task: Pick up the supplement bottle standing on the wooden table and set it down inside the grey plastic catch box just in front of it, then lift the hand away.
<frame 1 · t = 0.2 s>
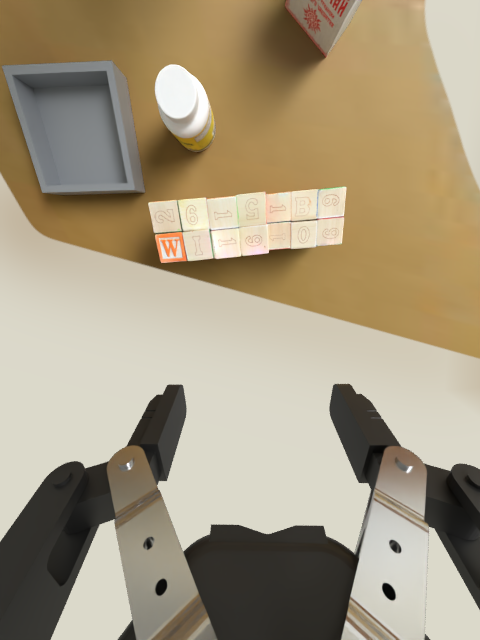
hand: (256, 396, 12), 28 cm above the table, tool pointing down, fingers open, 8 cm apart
supplement bottle: (196, 129, 31), on the table
herbal tea box: (317, 16, 27), on the table
stack of blocks: (250, 223, 36), on the table
catch box: (91, 141, 32), on the table
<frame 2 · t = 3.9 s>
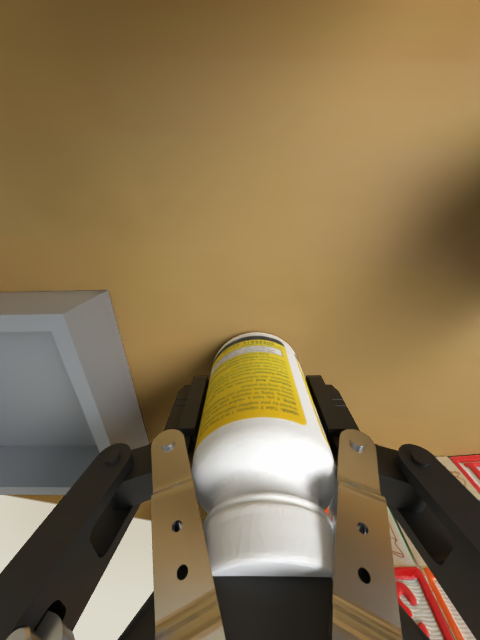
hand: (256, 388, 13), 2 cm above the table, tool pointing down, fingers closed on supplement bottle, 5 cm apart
supplement bottle: (255, 365, 15), on the table, touching gripper
stack of blocks: (344, 481, 20), on the table
catch box: (40, 381, 16), on the table
when the fingers open (4 cm above the table, at t = 9.6 s): supplement bottle drops 1 cm, resting on catch box.
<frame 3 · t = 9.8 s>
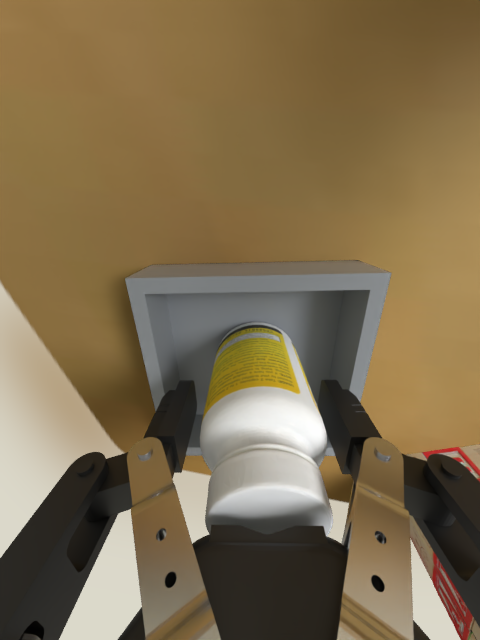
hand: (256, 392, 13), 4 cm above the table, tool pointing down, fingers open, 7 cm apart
supplement bottle: (255, 354, 16), resting on catch box
catch box: (253, 350, 17), on the table
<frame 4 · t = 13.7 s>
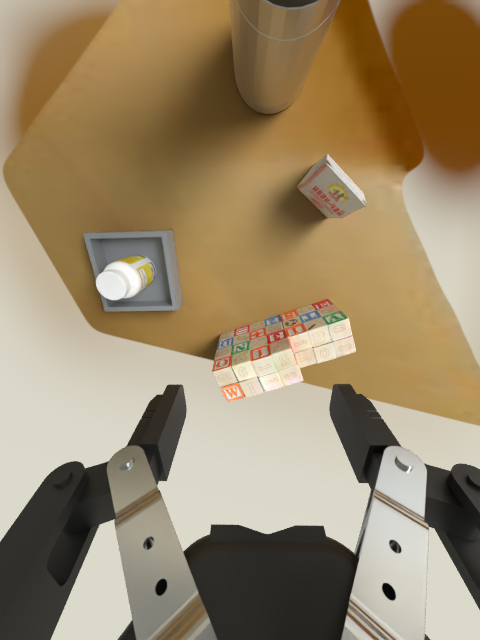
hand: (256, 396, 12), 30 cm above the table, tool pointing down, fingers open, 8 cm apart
supplement bottle: (141, 270, 40), resting on catch box
herbal tea box: (320, 192, 35), on the table
stack of blocks: (276, 330, 45), on the table
catch box: (142, 269, 40), on the table
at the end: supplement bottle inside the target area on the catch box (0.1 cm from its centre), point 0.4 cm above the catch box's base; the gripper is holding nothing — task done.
